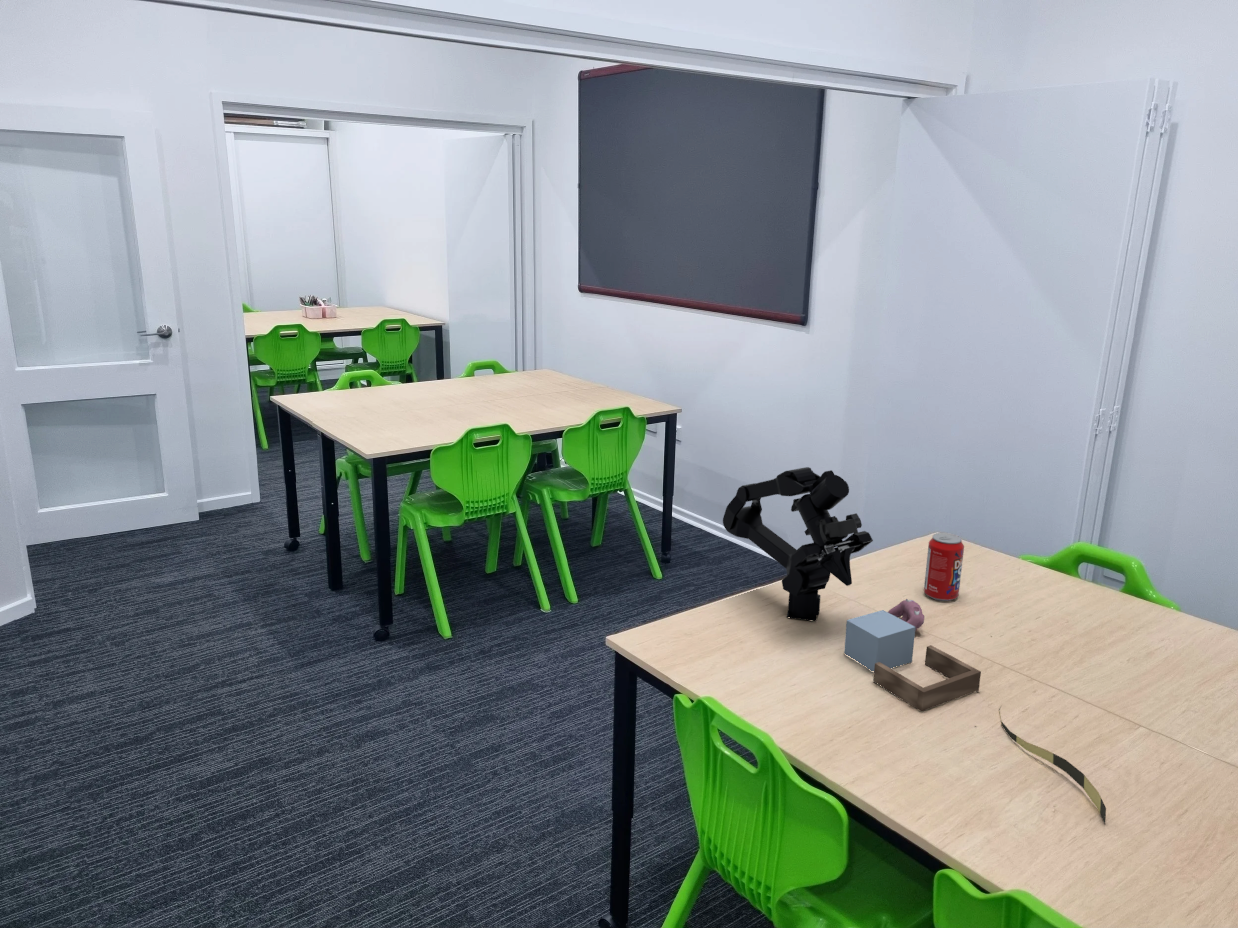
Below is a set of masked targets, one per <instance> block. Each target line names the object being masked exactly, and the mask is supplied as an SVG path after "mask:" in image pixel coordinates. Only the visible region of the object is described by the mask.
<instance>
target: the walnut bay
mask: <svg viewBox="0 0 1238 928" xmlns="http://www.w3.org/2000/svg"><path fill="white" fill-rule="evenodd" d="M924 665H925V666H927V667H928V668H931V669H932V670H934V671H936V672H937V673H940V674H941V675H944V676H945V677H947V678H946V679H944V680H943V679H942V680H940V681H937V682H935V683H933V684H929V685H926V686H924V687H923V686H921V685H920V684H918V683H916V682H915V681H913V680H911V679H909V678H908V677H906V676H904V675H902V674H901V673H899V672H898V671H896V670H894V669H893V668H892V669H891V668H889V667H887V666H886V665H884V664H882V663H880V662H878V663H875V668H874V673H873V680H872V681H874V682H876V683H878V684H879V685H881V686H882V687H881V686H880V687H881V688H883V687H884V688H885V689H884V688H883V689H884V690H886V689H887V690H888V691H887V690H886V691H887V692H889V691H890V692H889V693H891V692H892V693H893V695H894V694H895V695H896V697H897V696H898V697H897V698H899V699H900V698H901V700H902V699H903V700H902V701H904V702H905V701H906V702H905V703H907V704H908V705H910V706H912V707H914V709H917V710H918V711H920V712H924V711H927V710H929V709H933V708H935V707H937V706H940V705H943V704H945V703H948V702H951V701H954V700H956V699H959V698H961V697H964V696H967V695H970V694H972V693H975V692H977V691H980V690H979V689H980V683H981V673H982V670H979V669H977V668H975V667H974V666H972V665H969V664H967V663H966V662H964V661H962V660H960V659H958V658H956V657H955V656H952V655H950V653H947V652H945V651H943V650H941V649H939V648H937V647H935V646H933V645H926V651H925V660H924ZM874 682H873V683H874ZM876 683H875V684H876ZM878 684H877V685H878ZM879 685H878V686H879ZM892 693H891V694H892ZM895 695H894V696H895Z"/></svg>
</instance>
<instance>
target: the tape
mask: <svg viewBox="0 0 1238 928" xmlns="http://www.w3.org/2000/svg"><path fill="white" fill-rule="evenodd" d="M1001 707H1002V706H1000V707H999V709H998V711H999V714H1001V711H1000V710H1001ZM999 718H1000V723H1001V726H1003V727H1002V728H1003V729H1005V730H1004V731H1005V732H1007V733H1006V734H1007V735H1008V736H1009V738H1010V739H1011V740H1012V741H1014V743H1016V744H1018V745H1019V746H1020V747H1021V748H1023V749H1024V750H1025V751H1027V752H1029V753H1030V754H1033V755H1036V756H1037V757H1039V758H1041V759H1043V760H1044V761H1047V762H1048V763H1050V764H1052V765H1054V766H1055V767H1057V768H1058V769H1060V770H1062V771H1064V772H1065V773H1066V774H1067V775H1069V776H1070V778H1071V779H1072V780H1074V781H1075V782H1076V783H1077V784H1078V785H1079V786H1080V787H1081V788H1082V789H1083V790H1084V792H1085V793H1086V795H1087V797H1089V799H1090V801H1091V802H1092V803H1093V804H1094V806H1095V807H1096V809H1097V810H1098V813H1099V816H1100V817H1101V818H1102V821H1103V824H1104V825H1106V818H1107V817H1106V815H1107V808H1106V805H1105V803H1104V801H1103V799H1102V797H1101V795H1100V793H1099V791H1098V790H1097V788H1096V787H1095V786H1094V785H1093V784H1092V783H1091V781H1090V780H1089V779H1088V778H1087V775H1085V774H1084V773H1083V772H1082V771H1080V770H1079V769H1078V768H1077V767H1075V766H1074V765H1073V764H1072V763H1070V762H1069V761H1068V760H1067V759H1065V758H1063V757H1061V756H1059V755H1058V754H1055V753H1053V752H1051V751H1049V750H1048V749H1045V748H1043V747H1041V746H1038V745H1035V744H1034V743H1031V742H1029V741H1028V742H1027V741H1026V740H1024V739H1023V738H1022V737H1020V736H1018V735H1017V734H1015V733H1013V732H1012V731H1011V730H1009V728H1008V727H1007V726H1006V725H1005V723H1004V722H1003V721H1002V717H1001V715H999Z"/></svg>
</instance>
